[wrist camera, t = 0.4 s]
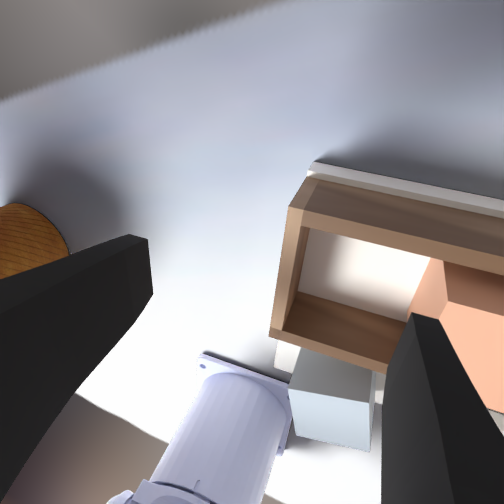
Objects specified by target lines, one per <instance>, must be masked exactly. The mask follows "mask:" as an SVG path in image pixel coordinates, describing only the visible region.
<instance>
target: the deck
mask: <svg viewBox="0 0 504 504" xmlns="http://www.w3.org/2000/svg"><path fill="white" fill-rule="evenodd" d="M307 177H311V178H316V179H321V180H325V181H330V182H335V183H339V184H344V185H349V186H353V187H358V188H363V189H368V190H372V191H377V192H382V193H386V194H391V195H396V196H400V197H405V198H410V199H414V200H419V201H424V202H428V203H433V204H438V205H442V206H447V207H452V208H456V209H461V210H466V211H471V212H475V213H480V214H485V215H489V216H494V217H499V218H503V219H504V200H500V199H495V198H491V197H486V196H481V195H476V194H471V193H466V192H461V191H456V190H451V189H446V188H441V187H436V186H431V185H426V184H422V183H417V182H412V181H407V180H402V179H397V178H392V177H387V176H382V175H377V174H372V173H367V172H362V171H358V170H353V169H348V168H343V167H338V166H333V165H328V164H323V163H318V162H313V163H312V164H311V166H310V168H309V169H308V172H307ZM429 261H430V257H426V256H422V255H418V254H414V253H410V252H406V251H402V250H398V249H394V248H390V247H386V246H382V245H378V244H374V243H370V242H365V241H361V240H357V239H353V238H349V237H345V236H341V235H337V234H333V233H329V232H325V231H321V230H317V229H313V228H310V231H309V236H308V241H307V246H306V251H305V256H304V261H303V266H302V271H301V276H300V281H299V286H298V291H300V292H303V293H306V294H310V295H313V296H317V297H320V298H324V299H327V300H331V301H334V302H337V303H341V304H344V305H348V306H351V307H355V308H358V309H362V310H365V311H368V312H372V313H375V314H379V315H382V316H386V317H389V318H393V319H396V320H399V321H403V322H406V323H407V310H408V308H409V306H410V303H411V301H412V299H413V297H414V294H415V292H416V290H417V288H418V285H419V283H420V281H421V279H422V276H423V274H424V272H425V270H426V267H427V265H428V263H429ZM300 349H301V347H299V346H296V345H293V344H290V343H287V342H284V341H281V340H278V343H277V349H276V354H275V360H274V366H273V367H275V368H277V369H280V370H283V371H286V372H289V373H293V370H294V367H295V364H296V361H297V358H298V355H299V352H300ZM385 380H386V375H385V374H382V373H379V372H376V391H375V402H376V403H379V404H381V405H382V403H383V395H384V387H385ZM487 410H488V409H487ZM488 411H489V413H490V415H491V416H492V418H493V419H494V421H495V423H496V424H497V426H498V428H499V429H500V431H501V432H502V434H503V436H504V415H503V414H500V413H497V412H494V411H491V410H488Z"/></svg>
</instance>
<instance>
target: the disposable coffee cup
mask: <svg viewBox="0 0 504 504" xmlns="http://www.w3.org/2000/svg"><path fill="white" fill-rule="evenodd" d="M66 256H69V254H68V249H67V247H66V244H65V242H64V240H63V238H62V237H61V235H60V233H59V232H58V230H57V229H56V228H55V227H54V226H53V225H52V223H51V222H50V221H49V220H48V219H47V218H45V217H44V216H43V215H42V214H41V213H39V212H38V211H36V210H35V209H33V208H31V207H29V206H26V205H23V204H18V203H12V204H8V205H5V206H2V207H0V279H2V278H5V277H9V276H12V275H15V274H18V273H21V272H23V271H26V270H29V269H32V268H35V267H38V266H41V265H44V264H47V263H50V262H53V261H56V260H58V259H61V258H64V257H66Z"/></svg>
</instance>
